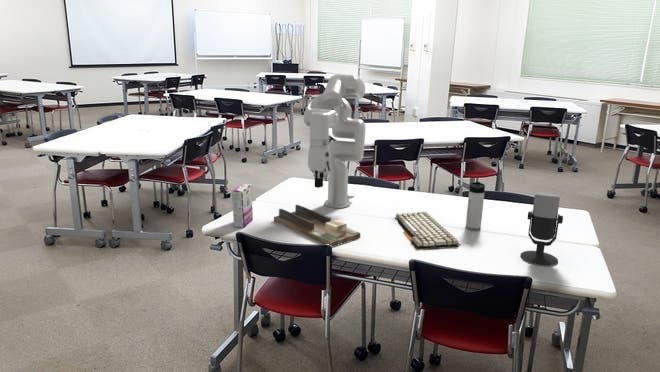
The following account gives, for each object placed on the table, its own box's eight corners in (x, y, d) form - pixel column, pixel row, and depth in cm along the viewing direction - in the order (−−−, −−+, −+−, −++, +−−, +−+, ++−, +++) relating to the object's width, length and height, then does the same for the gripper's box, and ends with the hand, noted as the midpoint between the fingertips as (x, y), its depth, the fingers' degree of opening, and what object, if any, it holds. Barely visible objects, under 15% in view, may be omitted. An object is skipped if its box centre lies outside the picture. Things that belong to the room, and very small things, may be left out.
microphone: (556, 255, 187) (566, 192, 180) (558, 268, 175) (569, 202, 169) (520, 249, 191) (528, 188, 185) (520, 262, 180) (528, 197, 173)
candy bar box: (242, 218, 220) (241, 183, 216) (253, 219, 219) (252, 184, 215) (232, 227, 210) (231, 190, 205) (243, 228, 209) (242, 191, 204)
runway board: (302, 213, 228) (302, 203, 227) (360, 237, 201) (360, 226, 199) (273, 221, 218) (273, 210, 216) (330, 247, 190) (331, 235, 189)
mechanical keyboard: (388, 218, 225) (388, 211, 224) (427, 216, 229) (428, 210, 228) (417, 252, 190) (418, 243, 189) (463, 249, 193) (464, 241, 192)
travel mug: (480, 226, 216) (485, 182, 210) (480, 231, 210) (485, 186, 204) (466, 224, 218) (470, 180, 212) (465, 229, 212) (469, 184, 206)
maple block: (336, 229, 203) (336, 219, 202) (346, 234, 199) (346, 223, 197) (325, 233, 199) (325, 222, 198) (335, 237, 195) (335, 226, 194)
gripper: (338, 144, 195) (337, 189, 200) (314, 139, 205) (314, 181, 211) (324, 147, 190) (323, 192, 195) (300, 141, 201) (300, 184, 206)
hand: (318, 186), depth 203 cm, fingers closed
